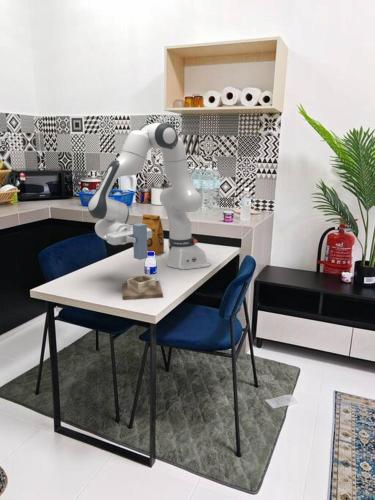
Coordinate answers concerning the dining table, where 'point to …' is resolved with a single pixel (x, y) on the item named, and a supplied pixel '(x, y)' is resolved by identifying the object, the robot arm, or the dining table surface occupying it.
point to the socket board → (141, 295)
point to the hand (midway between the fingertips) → (141, 239)
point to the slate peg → (140, 241)
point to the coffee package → (154, 233)
